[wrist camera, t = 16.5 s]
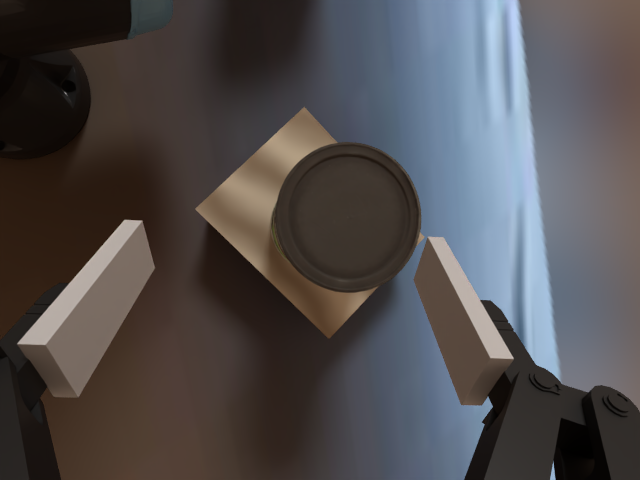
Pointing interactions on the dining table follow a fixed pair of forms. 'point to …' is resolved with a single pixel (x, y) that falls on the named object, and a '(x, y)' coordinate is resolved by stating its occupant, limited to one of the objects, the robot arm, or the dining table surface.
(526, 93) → the dining table surface
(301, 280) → the birch shelf
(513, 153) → the dining table surface
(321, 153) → the coffee can
